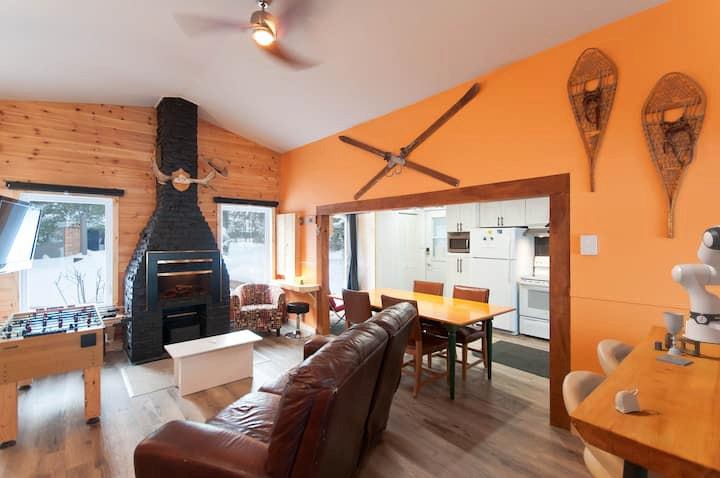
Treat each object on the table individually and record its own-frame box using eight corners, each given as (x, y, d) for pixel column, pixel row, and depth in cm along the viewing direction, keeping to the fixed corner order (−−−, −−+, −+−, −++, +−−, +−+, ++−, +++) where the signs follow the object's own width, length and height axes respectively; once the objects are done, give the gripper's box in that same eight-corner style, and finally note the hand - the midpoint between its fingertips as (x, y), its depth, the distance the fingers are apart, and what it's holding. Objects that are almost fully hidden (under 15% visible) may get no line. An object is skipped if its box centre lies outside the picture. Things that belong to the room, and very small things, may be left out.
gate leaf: (663, 347, 160) (663, 334, 160) (667, 346, 160) (667, 334, 160) (696, 356, 146) (696, 342, 147) (701, 355, 147) (700, 341, 147)
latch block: (657, 348, 159) (657, 341, 159) (661, 349, 158) (661, 341, 158) (654, 349, 158) (654, 341, 158) (659, 350, 156) (659, 342, 156)
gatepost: (668, 347, 162) (668, 332, 162) (673, 348, 160) (673, 333, 160) (667, 347, 161) (666, 332, 161) (672, 348, 159) (671, 333, 159)
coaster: (664, 356, 148) (664, 354, 148) (692, 362, 140) (692, 360, 140) (655, 359, 143) (655, 358, 143) (684, 365, 136) (684, 364, 136)
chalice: (660, 352, 153) (659, 312, 153) (668, 351, 155) (667, 311, 156) (681, 357, 146) (680, 315, 147) (689, 355, 149) (688, 314, 149)
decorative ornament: (609, 407, 100) (609, 389, 100) (633, 405, 102) (633, 387, 102) (622, 414, 96) (622, 395, 96) (647, 411, 98) (646, 392, 98)
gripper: (772, 320, 133) (722, 314, 145) (757, 325, 123) (704, 318, 135) (773, 336, 133) (722, 329, 145) (758, 342, 123) (705, 334, 135)
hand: (713, 324), depth 140 cm, fingers open, 8 cm apart
